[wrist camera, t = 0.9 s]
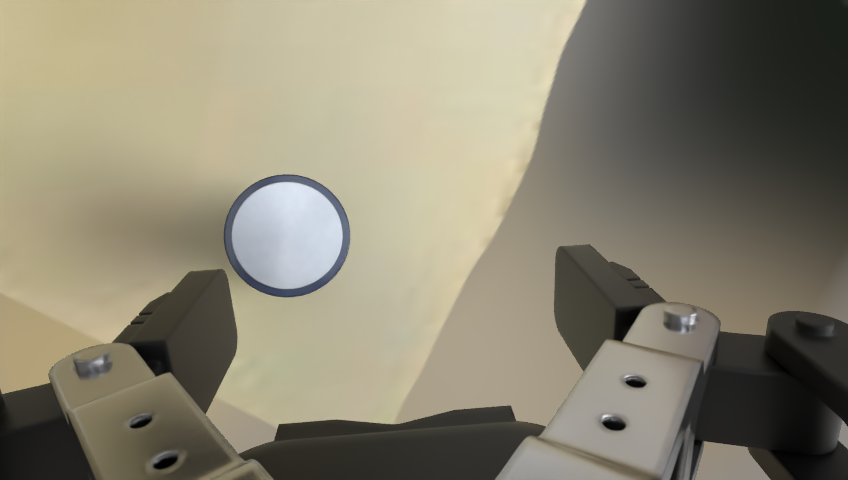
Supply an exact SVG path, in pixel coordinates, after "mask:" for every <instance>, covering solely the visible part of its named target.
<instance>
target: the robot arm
mask: <svg viewBox="0 0 848 480" xmlns="http://www.w3.org/2000/svg"><path fill="white" fill-rule="evenodd" d="M555 261H556V262H555V291H554V293H555V294H554V314H555V321H556V325H557V328H558V331H559V332H560V334H561V336H562V337H563V339H564V341H565V342H566V344H567V346H568V347H569V349H570V350H571V352H572V354H573V355H574V357H575V358H576V360H577V362H578V363H579V365H580V367H581V368H582V370H583V371H584V372H583V374H582V375H581V377H580V378H579V380H578V381H577V383H576V384H575V386H574V387H573V389H572V390H571V391H570V393H569V394H568V396H567V397H566V399H565V400H564V402H563V403H562V405H561V406H560V408H559V409H558V411H557V412H556V414H555V415H554V416H553V418H552V420H551V421H550V422H549V424H548V425H547V427H546V426H542V425H538V424H533V423H528V422H520V421H516V419H515V416H514V414H513V411H512V408H511V406H499V407H487V408H475V409H462V410H453V411H449V412H445V413H441V414H437V415H433V416H430V417H425V418H421V419H418V420H413V421H410V422H406V423H402V424H380V423H369V422H357V421H346V420H326V421H314V422H302V423H290V424H279V426H278V429H277V433H276V436H275V440H274V441H273V442H269V443H265V444H262V445H259V446H256V447H254V448H251V449H249V450H246V451H244V452H242V453H240V454H238V453H237V452H236V451H235V449H234V448H233V447H232V446H231V445H230V444H229V442H228V441H227V440H226V439H225V437H224V436H223V435H222V434H221V433H220V432H219V430H218V429H217V428H216V427H215V426H214V424H212V422H211V421H210V420H209V418H208V417H207V416H206V415H205V414H206V412H207V410H208V408H209V406H210V404H211V402H212V400H213V398H214V396H215V394H216V392H217V390H218V388H219V386H220V384H221V382H222V380H223V378H224V376H225V374H226V372H227V370H228V368H229V366H230V364H231V362H232V360H233V358H234V356H235V353H236V349H237V328H236V323H235V317H234V311H233V306H232V300H231V294H230V289H229V283H228V279H227V275H226V273H225V271H224V270H222V269H217V270H203V271H190V272H189V273H188V274H187V275H186V276H185V277H184V278H183V279H182V280H181V282H180V283H179V284H178V285H177V286H176V287H175V288H174V289H173V290H172V292H168V293H166V294H164V295H162V296H160V297H159V298H157V299H155V300H153V301H152V302H150V303H149V304H148V305H147V306H146V307H145V308H144V309H143V310H142V311H141V312H140V313H139V316H136V318H135V319H134V320H133V321H132V322H131V325H128V326H127V327H126V328H125V329H124V330H123V331H122V332H121V334H120V335H119V336H118V337H117V338H116V339H115V340H114V341H113V342H112V343H108V344H101V345H96V346H92V347H88V348H85V349H82V350H79V351H77V352H75V353H72V354H71V355H68V356H66V357H65V358H63V359H61V360H60V361H58V362H57V363H56V364H55V365H54V366H53V367H52V368H51V369H50V371H49V374H48V375H49V379H50V383H48V384H44V385H41V386H36V387H31V388H27V389H23V390H19V391H14V392H10V393H5V394H2V393H1V390H0V480H695V478H696V474H697V471H698V467H699V463H700V460H701V456H702V452H703V447H704V441H707V442H715V443H723V444H730V445H737V446H745V447H748V450H749V453H750V454H751V455H752V457H753V458H754V459H755V461H756V462H757V463H758V464H759V465H760V467H761V468H762V469H763V470H764V472H765V473H766V474H767V475H768V477H769V478H770V479H771V480H848V449H847V448H846V447H845V446H844V445H843V444H841V443H840V442H839V441H838V438H839V433H840V429H841V425H842V420H843V421H844V422H845V423H846V425H847V426H848V324H846V323H844V322H842V321H839V320H837V319H834V318H831V317H828V316H824V315H820V314H816V313H810V312H800V311H786V312H779V313H776V314H773V315H772V316H770V318H769V319H768V324H767V330H766V336H762V335H750V334H738V333H728V332H721V331H720V320H719V319H718V318H717V317H716V316H715V315H714V314H713V313H711V312H709V311H707V310H705V309H703V308H700V307H697V306H693V305H689V304H684V303H676V302H666V301H665V300H664V299H663V298H662V297H661V296H659V295H658V294H657V293H656V292H655V291H654V290H653V289H652V288H649V286H648V285H647V284H646V283H645V282H644V281H643V280H641V279H640V278H639V277H638V276H637V275H636V274H635V273H634V272H633V271H632V270H631V269H628V268H626V267H624V266H621V265H619V264H616V263H614V262H608V261H607V260H606V259H605V258H603V257H602V256H601V255H600V254H599V253H598V252H597V251H596V250H595V249H594V248H593V247H592V246H591V245H574V246H560V247H558V249H557V252H556V260H555Z"/></svg>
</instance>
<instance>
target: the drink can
mask: <svg viewBox="0 0 848 480" xmlns="http://www.w3.org/2000/svg"><path fill="white" fill-rule="evenodd" d="M224 244H225V250H226V253H227V257H228V259H229V261H230V263H231V265H232V267H233V268H234V270H235V271H236V273H237V274H238V275H239V276H240V277H241V278H242V279H243V280H244V281H245V282H246V283H247V284H249V285H250V286H251V287H253V288H255V289H256V290H258V291H260V292H263V293H266V294H268V295H272V296H277V297H296V296H302V295H305V294H309V293H311V292H313V291H316V290H318V289H319V288H321V287H323V286H324V285H325V284H327V283H328V282H329V281H330V280H331V279H332V278H333V277H334V276H335V275H336V274H337V273H338V271H339V270H340V269H341V267H342V265H343V263H344V261H345V259H346V256H347V253H348V250H349V244H350V228H349V222H348V219H347V215H346V213H345V211H344V208H343V207H342V205H341V203H340V202H339V200H338V199H337V198H336V197H335V195H334V194H333V193H332V192H331V191H329V190H328V189H327V188H326V187H324V186H323V185H321V184H320V183H318V182H316V181H314V180H312V179H309V178H306V177H303V176H298V175H276V176H271V177H267V178H265V179H262V180H260V181H258V182H256V183H254V184H252V185H251V186H250V187H248V188H247V189H246V190H245V191H243V192H242V193H241V194H240V195H239V197H238V198H237V199H236V200H235V202H234V203H233V205H232V207H231V208H230V211H229V213H228V215H227V218H226V222H225V227H224Z"/></svg>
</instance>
